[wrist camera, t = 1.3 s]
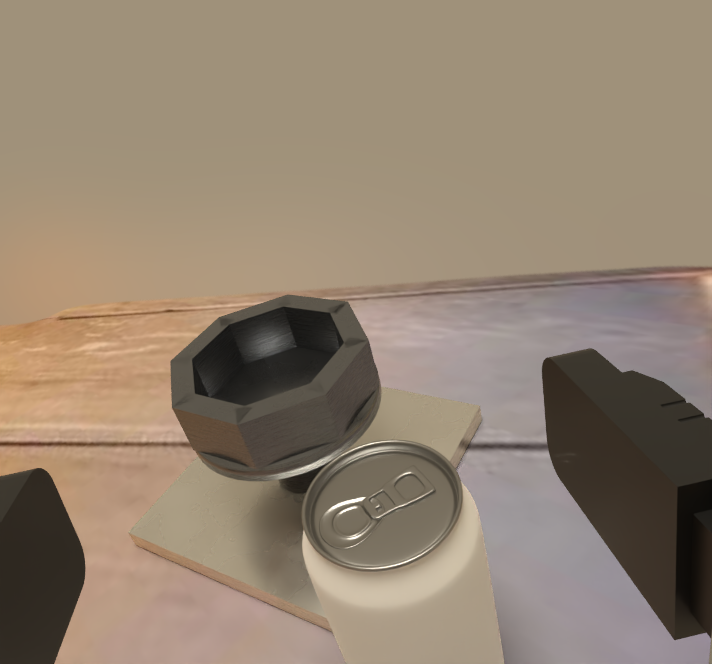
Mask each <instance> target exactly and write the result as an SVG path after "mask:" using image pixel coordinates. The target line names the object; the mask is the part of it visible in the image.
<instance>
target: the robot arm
mask: <svg viewBox="0 0 712 664" xmlns="http://www.w3.org/2000/svg"><path fill="white" fill-rule="evenodd" d="M542 379H543V393H544V406H545V419H546V433H547V444H548V449H549V454H550V457H551V460H552V463H553V466H554V469H555V471H556V473H557V475H558V477H559V478H560V480H561V481H562V483H563V484H564V486H565V487H566V488H567V490H568V491H569V493H570V494H571V495H572V497H573V498H574V500H575V501H576V502H577V504H578V505H579V507H580V508H581V510H582V511H583V512H584V514H585V515H586V517H587V518H588V519H589V521H590V522H591V524H592V525H593V526H594V528H595V529H596V531H597V532H598V533H599V535H600V536H601V538H602V539H603V540H604V542H605V543H606V545H607V546H608V547H609V549H610V550H611V552H612V553H613V554H614V556H615V557H616V559H617V560H618V561H619V563H620V564H621V566H622V567H623V568H624V570H625V571H626V573H627V574H628V575H629V577H630V578H631V580H632V581H633V582H634V584H635V585H636V587H637V588H638V590H639V591H640V592H641V594H642V595H643V597H644V598H645V599H646V601H647V602H648V604H649V605H650V606H651V608H652V609H653V611H654V612H655V613H656V615H657V616H658V618H659V619H660V620H661V622H662V623H663V625H664V626H665V627H666V629H667V630H668V632H669V633H670V634H671V636H672V637H673V639H674V640H677V639H681V638H685V637H690V636H694V635H698V634H702V633H706V632H707V634H708V635H709V636H710V638H711V646H710V657H709V664H712V420H711V419H710V418H709V417H708V418H705V417H704V413H702V412H701V411H700V410H698V409H697V408H696V407H695V406H693V405H692V404H691V403H686V401H685V399H684V398H683V397H682V396H681V395H679V394H678V393H677V392H675V391H674V390H673V389H672V388H670V387H669V386H668V385H667V384H665V383H664V382H662V381H659V380H656V379H654V378H651V377H648V376H646V375H643V374H640V373H638V372H635V371H627V372H623V373H622V372H621V371H619V370H618V369H617V368H616V367H615V366H614V365H612V364H611V363H610V362H609V361H608V360H606V359H605V358H604V357H603V356H602V355H601V354H599V353H598V352H597V351H596V350H594V349H585V350H581V351H576V352H572V353H567V354H562V355H558V356H553V357H549V358H546V359H545V360H544V362H543V366H542ZM84 579H85V558H84V553H83V549H82V546H81V543H80V541H79V538H78V536H77V534H76V532H75V529H74V527H73V525H72V522H71V520H70V518H69V516H68V513H67V511H66V509H65V507H64V504H63V502H62V500H61V497H60V495H59V493H58V491H57V488H56V486H55V484H54V482H53V480H52V478H51V476H50V475H49V473H48V472H47V471H45V470H44V469H42V468H36V469H32V470H27V471H23V472H18V473H14V474H9V475H5V476H0V664H54V662H55V660H56V657H57V654H58V652H59V649H60V646H61V644H62V641H63V638H64V636H65V633H66V630H67V628H68V625H69V622H70V620H71V617H72V614H73V612H74V609H75V606H76V604H77V601H78V598H79V596H80V593H81V590H82V588H83V584H84Z"/></svg>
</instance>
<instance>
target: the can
mask: <svg viewBox="0 0 712 664" xmlns="http://www.w3.org/2000/svg"><path fill="white" fill-rule="evenodd" d="M302 524H303V529H304V531H303V539H302V549H303V556H304V560H305V564H306V568H307V571H308V573H309V576H310V579H311V581H312V584H313V586H314V589H315V591H316V594H317V596H318V598H319V601H320V603H321V606H322V608H323V610H324V613H325V615H326V617H327V620H328V622H329V625H330V627H331V629H332V632H333V634H334V636H335V639H336V641H337V643H338V646H339V648H340V650H341V653H342V655H343V657H344V660H345V662H346V664H504V657H503V651H502V644H501V638H500V632H499V626H498V620H497V613H496V607H495V601H494V595H493V590H492V584H491V578H490V572H489V566H488V560H487V554H486V548H485V543H484V537H483V532H482V527H481V522H480V517H479V513H478V510H477V507H476V505H475V502H474V500H473V498H472V496H471V494H470V493H469V491H468V490H467V488H466V487H465V486H464V485H463V483H462V482H461V480H460V477H459V475H458V473H457V471H456V469H455V468H454V466H453V465H452V464H451V463H450V461H449V460H448V459H447V458H446V457H444V456H443V455H442V454H441V453H439V452H438V451H436V450H434V449H433V448H431V447H428V446H426V445H423V444H421V443H417V442H413V441H407V440H381V441H374V442H370V443H366V444H363V445H360V446H357V447H355V448H352V449H350V450H348V451H346V452H344V453H342V454H341V455H339V456H338V457H336V458H335V459H333V460H332V461H331V462H329V463H328V464H327V465H326V466H325V467H324V468H323V469H322V470H321V471H320V472H319V473H318V474H317V476H316V477H315V478H314V480H313V481H312V483H311V484H310V486H309V488H308V490H307V492H306V495H305V497H304V501H303V505H302Z"/></svg>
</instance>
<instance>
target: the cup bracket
mask: <svg viewBox="0 0 712 664" xmlns="http://www.w3.org/2000/svg"><path fill="white" fill-rule="evenodd" d="M171 391H172V408H173V410H174V412H175V414H176V416H177V418H178V420H179V422H180V424H181V426H182V428H183V430H184V432H185V434H186V436H187V438H188V440H189V442H190V444H191V446H192V448H193V450H195V451H196V453H197V455H198V457H197V458H196V459H195V460H194V461H193V462H192V463H191V464H190V465H189V466H188V468H187V469H186V470H185V471H184V472H183V473H182V474H181V475H180V476H179V477H178V479H177V480H176V481H175V482H174V483H173V484H172V485H171V486H170V487H169V488H168V489H167V491H166V492H165V493H164V494H163V495H162V496H161V497H160V498H159V499H158V500H157V501H156V503H155V504H154V505H153V506H152V507H151V508H150V509H149V510H148V511H147V512H146V513H145V515H144V516H143V517H142V518H141V519H140V520H139V521H138V522H137V523H136V524H135V526H134V527H133V528H132V529H131V530H130V531H129V532H128V533H129V535H130V536H131V538H132V540H133V541H134V543H135V544H136V545H137V546H139V547H141V548H144V549H146V550H148V551H150V552H153V553H155V554H157V555H159V556H162V557H164V558H166V559H169V560H171V561H173V562H175V563H178V564H180V565H182V566H184V567H187V568H189V569H191V570H193V571H196V572H198V573H200V574H202V575H205V576H207V577H209V578H212V579H214V580H216V581H218V582H221V583H223V584H225V585H227V586H230V587H232V588H234V589H236V590H239V591H241V592H243V593H245V594H248V595H250V596H252V597H255V598H257V599H259V600H261V601H264V602H266V603H268V604H270V605H273V606H275V607H277V608H279V609H282V610H284V611H286V612H288V613H291V614H293V615H295V616H298V617H300V618H302V619H304V620H307V621H309V622H311V623H313V624H316V625H318V626H320V627H322V628H325V629H327V630H329V631H331V632H332V629H331V627H330V625H329V622H328V620H327V617H326V615H325V613H324V610H323V608H322V606H321V603H320V601H319V598H318V596H317V594H316V591H315V589H314V586H313V584H312V581H311V579H310V576H309V573H308V571H307V568H306V564H305V560H304V556H303V549H302V539H303V531H304V529H303V524H302V505H303V501H304V497H305V495H306V492H307V490H308V488H309V486H310V484H311V483H312V481H313V480H314V478H315V477H316V476H317V474H318V473H319V472H320V471H321V470H322V469H323V468H324V467H325V466H326V465H327V464H328V463H329V462H331V461H332V460H333V459H335V458H336V457H338V456H339V455H341V454H342V453H344V452H346V451H348V450H350V449H352V448H355V447H357V446H360V445H363V444H366V443H370V442H374V441H381V440H407V441H413V442H417V443H421V444H423V445H426V446H428V447H431V448H433V449H434V450H436V451H438V452H439V453H441V454H442V455H443V456H444V457H446V458H447V459H448V460H449V461H450V463H451V464H452V465H453V466H454V468H455V469H456V468H457V466H458V464H459V462H460V460H461V458H462V456H463V455H464V453H465V451H466V449H467V447H468V445H469V443H470V441H471V439H472V438H473V436H474V434H475V432H476V430H477V428H478V426H479V424H480V422H481V421H482V417H481V410H480V406H478V405H473V404H468V403H462V402H457V401H452V400H447V399H442V398H437V397H432V396H426V395H421V394H416V393H411V392H406V391H401V390H396V389H391V388H385V387H381V384H380V379H379V375H378V371H377V368H376V365H375V363H374V359H373V356H372V352H371V348H370V344H369V340H368V338H367V336H366V335H365V333H364V331H363V329H362V327H361V325H360V323H359V322H358V320H357V318H356V316H355V314H354V312H353V310H352V309H351V307H350V305H349V303H348V302H345V301H337V300H328V299H320V298H312V297H303V296H295V295H285V296H282V297H279V298H276V299H273V300H270V301H267V302H264V303H261V304H258V305H255V306H252V307H249V308H246V309H243V310H240V311H237V312H234V313H231V314H228V315H225V316H222V317H219V318H218V319H217V320H216V321H214V322H213V323H212V324H211V325H210V326H209V327H208V328H207V329H206V330H205V331H203V332H202V333H201V334H200V335H199V336H198V337H197V338H196V339H195V340H193V341H192V342H191V343H190V344H189V345H188V346H187V347H186V348H185V349H183V350H182V351H181V352H180V353H179V354H178V355H177V356H176V357H175V358H174V359H172V360H171Z"/></svg>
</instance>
